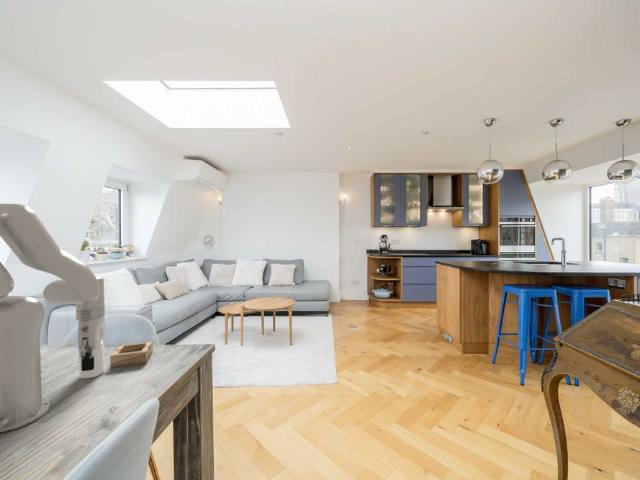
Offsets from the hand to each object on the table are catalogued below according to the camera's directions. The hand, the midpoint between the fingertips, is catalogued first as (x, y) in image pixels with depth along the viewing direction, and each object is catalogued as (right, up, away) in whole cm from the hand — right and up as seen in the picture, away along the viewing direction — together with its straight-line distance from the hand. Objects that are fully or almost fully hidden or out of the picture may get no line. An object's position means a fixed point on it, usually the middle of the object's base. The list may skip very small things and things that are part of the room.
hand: (92, 365), depth 96 cm
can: (0, -3, 0) cm, 3 cm away
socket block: (+7, -3, +11) cm, 13 cm away
